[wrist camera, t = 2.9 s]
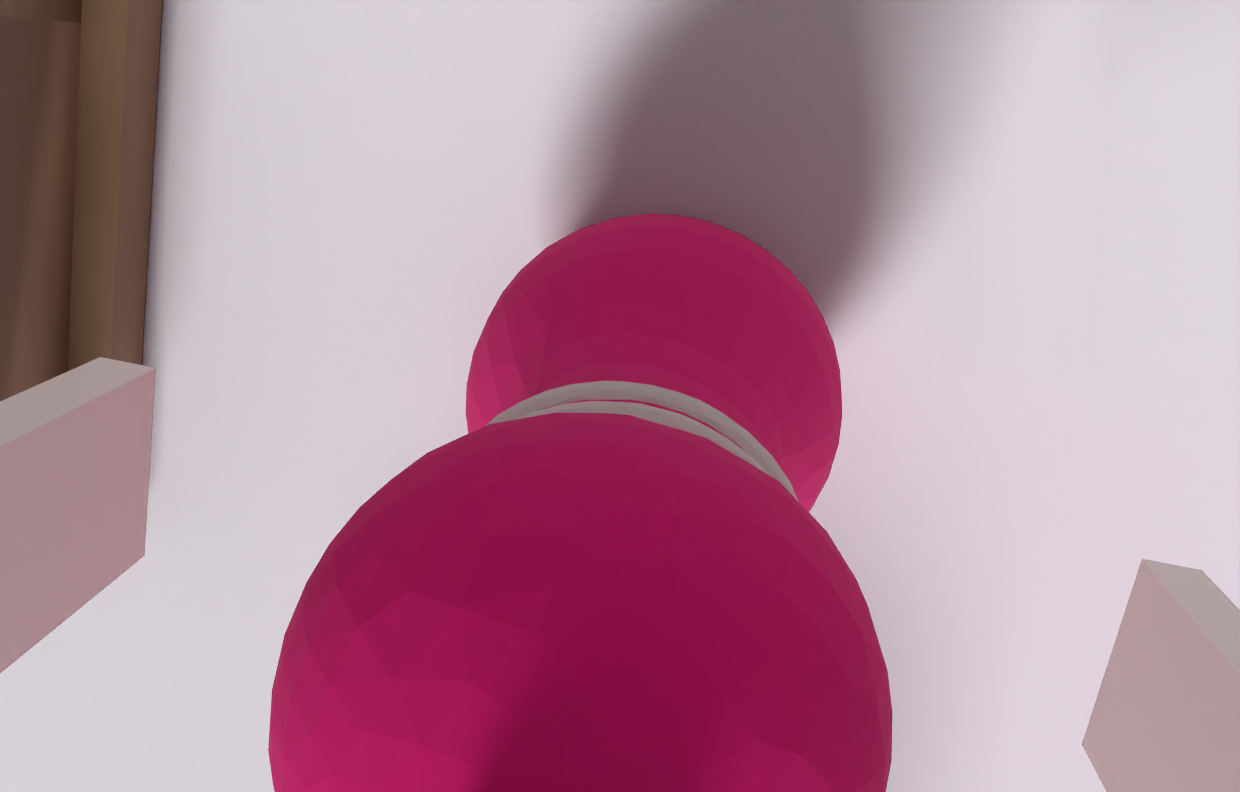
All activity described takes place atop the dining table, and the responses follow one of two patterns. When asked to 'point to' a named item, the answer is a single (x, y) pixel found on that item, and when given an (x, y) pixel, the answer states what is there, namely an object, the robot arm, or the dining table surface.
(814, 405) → the pepper mill
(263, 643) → the dining table surface
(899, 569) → the dining table surface
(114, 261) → the wooden divided tray
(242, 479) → the dining table surface
